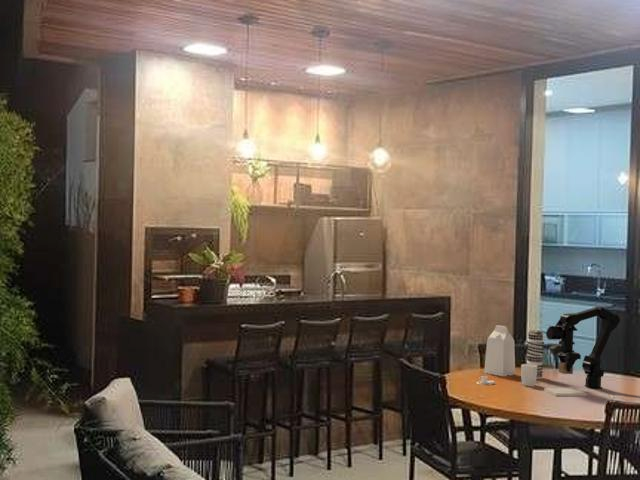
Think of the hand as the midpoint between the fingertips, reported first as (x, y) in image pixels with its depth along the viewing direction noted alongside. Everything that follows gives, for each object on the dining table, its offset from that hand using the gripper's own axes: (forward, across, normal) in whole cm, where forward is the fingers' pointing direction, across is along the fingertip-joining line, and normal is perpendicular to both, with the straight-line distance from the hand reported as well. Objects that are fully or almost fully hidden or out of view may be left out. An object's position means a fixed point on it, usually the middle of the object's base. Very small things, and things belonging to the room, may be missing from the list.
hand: (565, 370), depth 393 cm
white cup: (+9, -8, -16) cm, 20 cm away
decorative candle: (+9, -28, -4) cm, 30 cm away
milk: (+9, -39, -19) cm, 44 cm away
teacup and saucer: (+10, -9, -37) cm, 39 cm away
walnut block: (+1, 0, 0) cm, 1 cm away
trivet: (+9, +12, -6) cm, 16 cm away
